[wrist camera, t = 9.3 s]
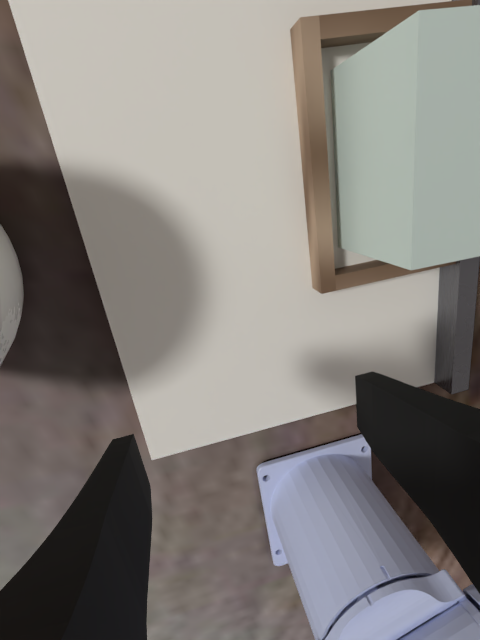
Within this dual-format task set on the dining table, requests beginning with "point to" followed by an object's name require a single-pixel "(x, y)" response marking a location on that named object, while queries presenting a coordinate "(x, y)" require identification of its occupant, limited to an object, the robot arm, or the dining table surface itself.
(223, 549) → the dining table surface
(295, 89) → the white square tray
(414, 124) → the carton
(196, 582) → the dining table surface
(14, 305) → the lidded jar
